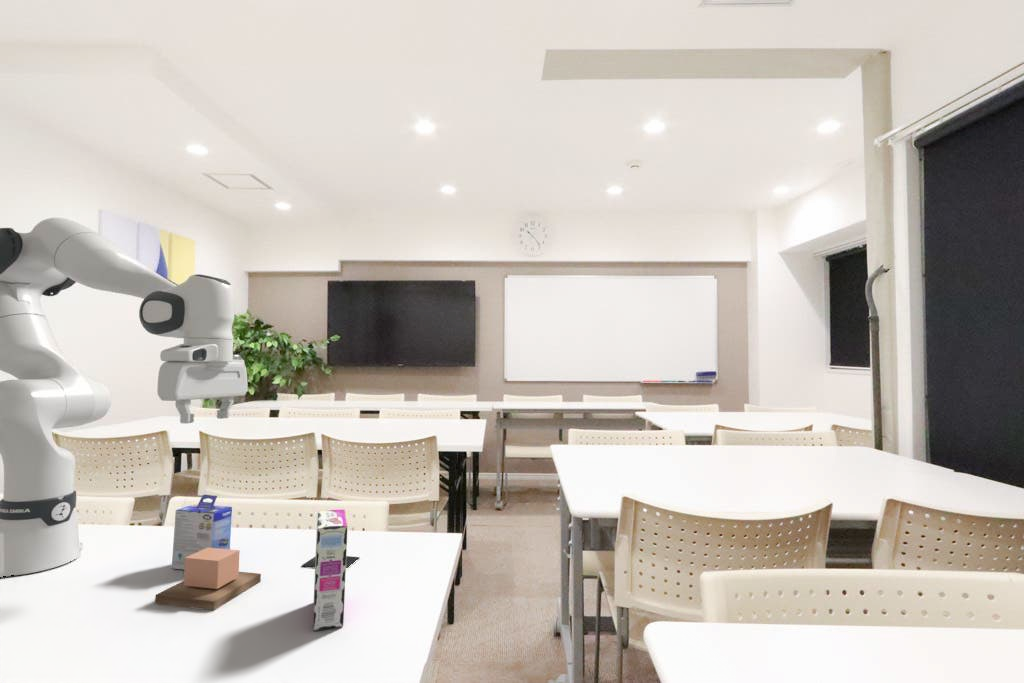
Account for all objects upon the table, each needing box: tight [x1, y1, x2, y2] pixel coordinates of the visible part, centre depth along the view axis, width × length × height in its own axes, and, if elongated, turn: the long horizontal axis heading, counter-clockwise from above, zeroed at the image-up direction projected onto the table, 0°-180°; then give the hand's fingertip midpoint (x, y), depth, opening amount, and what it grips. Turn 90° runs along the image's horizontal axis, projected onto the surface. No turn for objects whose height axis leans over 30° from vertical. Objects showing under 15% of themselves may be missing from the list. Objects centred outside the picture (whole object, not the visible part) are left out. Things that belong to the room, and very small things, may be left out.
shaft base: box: [154, 571, 262, 611], centre depth 95 cm, size 12×12×6 cm
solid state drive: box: [301, 555, 361, 569], centre depth 109 cm, size 7×10×1 cm
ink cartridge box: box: [171, 494, 233, 571], centre depth 107 cm, size 10×6×14 cm, turn 78°
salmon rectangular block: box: [183, 548, 240, 589], centre depth 95 cm, size 5×7×5 cm
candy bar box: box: [312, 509, 349, 632], centre depth 87 cm, size 11×5×16 cm, turn 21°
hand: (205, 420), depth 103 cm, fingers open, 8 cm apart
